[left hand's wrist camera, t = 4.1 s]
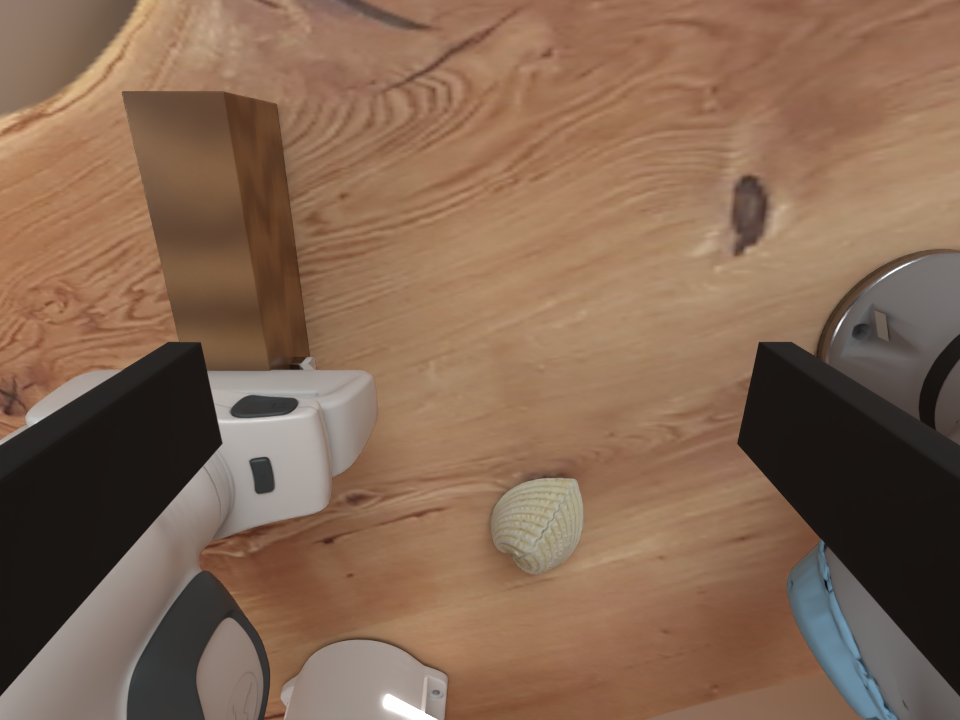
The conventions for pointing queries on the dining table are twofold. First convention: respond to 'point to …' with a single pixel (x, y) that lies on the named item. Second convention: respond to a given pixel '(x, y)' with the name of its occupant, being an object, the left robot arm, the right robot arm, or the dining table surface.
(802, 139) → the dining table surface
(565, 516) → the seashell
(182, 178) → the bar
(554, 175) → the dining table surface
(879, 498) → the left robot arm
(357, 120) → the dining table surface
